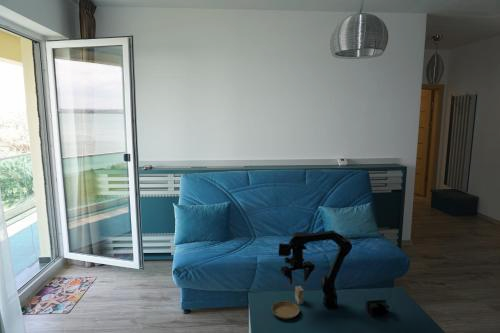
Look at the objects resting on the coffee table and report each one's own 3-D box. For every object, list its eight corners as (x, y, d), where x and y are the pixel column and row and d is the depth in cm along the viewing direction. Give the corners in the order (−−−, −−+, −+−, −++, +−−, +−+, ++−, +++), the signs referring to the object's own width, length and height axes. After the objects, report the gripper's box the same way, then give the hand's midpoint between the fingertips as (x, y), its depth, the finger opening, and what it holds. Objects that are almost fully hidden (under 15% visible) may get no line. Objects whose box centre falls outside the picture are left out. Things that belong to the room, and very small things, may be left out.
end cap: (382, 308, 178) (383, 297, 177) (389, 316, 172) (390, 304, 170) (364, 309, 178) (365, 298, 176) (370, 317, 171) (371, 305, 169)
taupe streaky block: (299, 298, 189) (300, 285, 187) (303, 303, 184) (303, 290, 183) (295, 299, 188) (295, 286, 187) (298, 304, 183) (298, 291, 182)
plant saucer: (298, 323, 167) (298, 318, 166) (269, 320, 170) (269, 315, 169) (300, 307, 181) (300, 302, 181) (273, 304, 184) (273, 299, 184)
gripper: (304, 247, 191) (304, 273, 193) (275, 253, 184) (276, 280, 186) (315, 255, 181) (315, 281, 183) (285, 261, 174) (285, 289, 176)
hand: (297, 283), depth 182 cm, fingers open, 9 cm apart
